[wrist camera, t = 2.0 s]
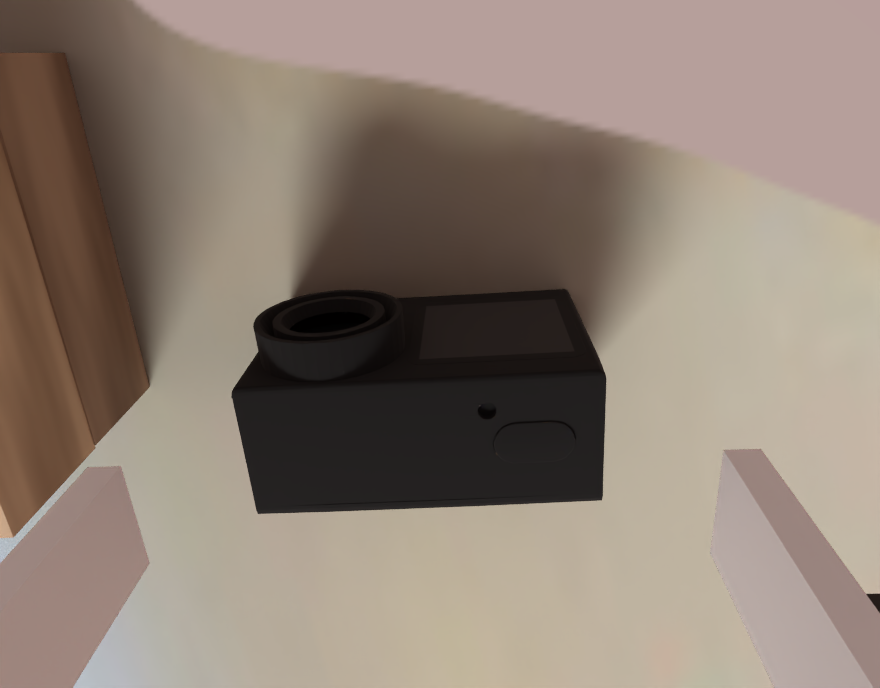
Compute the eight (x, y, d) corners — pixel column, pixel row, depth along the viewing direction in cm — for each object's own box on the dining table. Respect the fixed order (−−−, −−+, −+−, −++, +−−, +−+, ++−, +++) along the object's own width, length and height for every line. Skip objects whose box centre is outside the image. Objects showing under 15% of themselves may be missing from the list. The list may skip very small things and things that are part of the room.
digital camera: (572, 255, 24) (613, 330, 17) (570, 391, 26) (607, 504, 19) (283, 272, 24) (219, 351, 18) (305, 404, 26) (255, 517, 20)
